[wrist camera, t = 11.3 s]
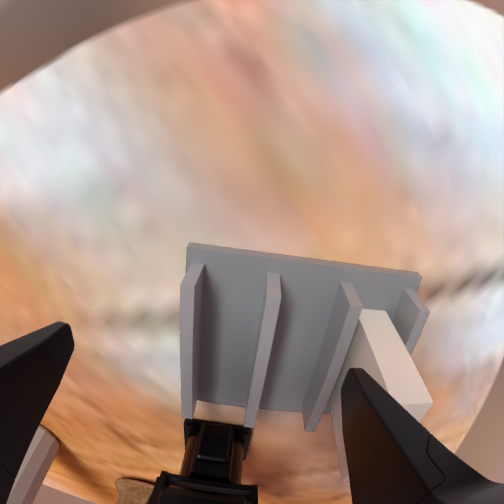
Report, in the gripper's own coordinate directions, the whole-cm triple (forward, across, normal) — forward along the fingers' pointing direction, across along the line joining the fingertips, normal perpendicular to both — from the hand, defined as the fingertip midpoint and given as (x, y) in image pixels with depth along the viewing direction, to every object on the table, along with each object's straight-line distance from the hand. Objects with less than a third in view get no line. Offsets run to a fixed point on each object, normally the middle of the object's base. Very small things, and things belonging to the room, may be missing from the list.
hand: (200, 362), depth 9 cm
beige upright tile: (+11, -10, +8) cm, 17 cm away
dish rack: (+12, -5, +8) cm, 15 cm away
